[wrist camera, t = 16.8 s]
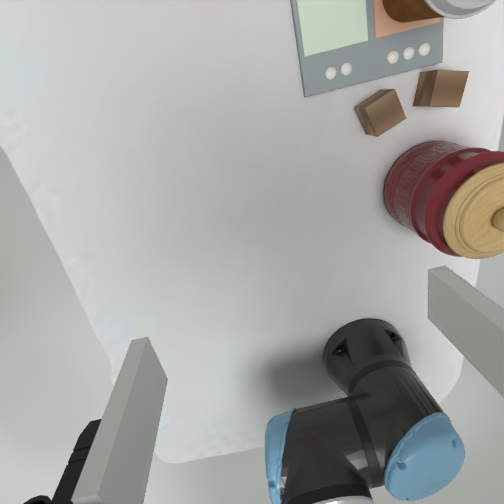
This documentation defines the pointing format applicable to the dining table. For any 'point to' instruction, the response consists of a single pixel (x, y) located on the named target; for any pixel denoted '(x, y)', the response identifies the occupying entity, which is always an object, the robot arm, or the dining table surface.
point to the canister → (450, 197)
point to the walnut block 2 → (440, 88)
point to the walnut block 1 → (380, 112)
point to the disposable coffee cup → (433, 9)
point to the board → (359, 43)
